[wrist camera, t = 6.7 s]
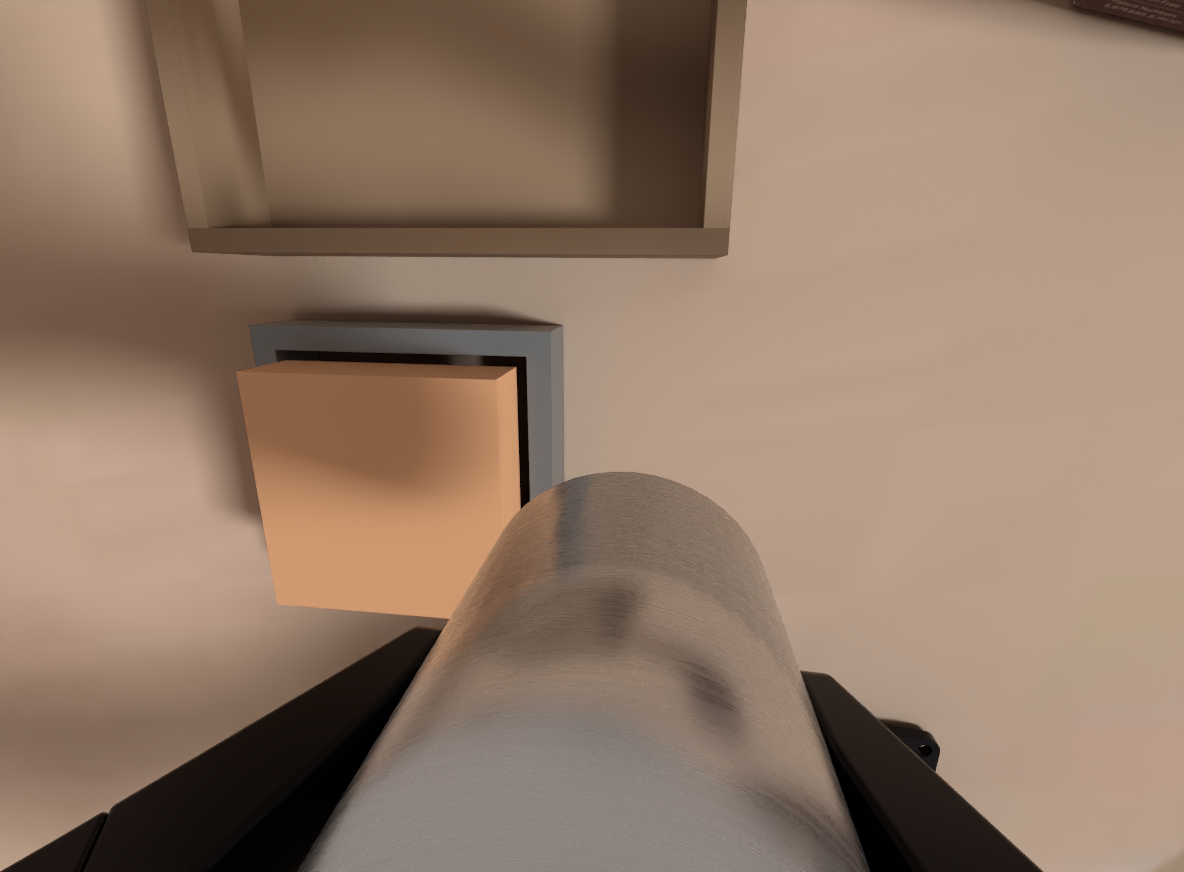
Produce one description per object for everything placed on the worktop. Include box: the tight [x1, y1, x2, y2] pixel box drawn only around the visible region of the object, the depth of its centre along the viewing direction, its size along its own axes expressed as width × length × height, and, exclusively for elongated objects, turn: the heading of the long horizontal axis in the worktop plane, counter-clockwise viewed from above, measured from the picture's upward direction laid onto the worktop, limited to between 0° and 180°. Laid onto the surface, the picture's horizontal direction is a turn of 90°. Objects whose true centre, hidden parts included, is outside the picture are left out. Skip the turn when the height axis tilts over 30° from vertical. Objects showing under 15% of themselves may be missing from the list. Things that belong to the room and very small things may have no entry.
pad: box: [236, 360, 521, 619], centre depth 16 cm, size 7×7×2 cm
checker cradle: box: [249, 320, 564, 501], centre depth 18 cm, size 9×9×2 cm
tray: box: [145, 0, 747, 258], centre depth 14 cm, size 11×14×3 cm
